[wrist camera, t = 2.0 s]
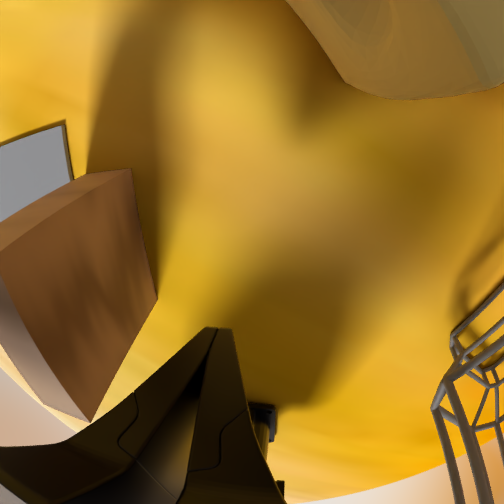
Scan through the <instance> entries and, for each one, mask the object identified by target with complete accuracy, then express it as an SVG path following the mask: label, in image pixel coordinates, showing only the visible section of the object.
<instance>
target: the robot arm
mask: <svg viewBox="0 0 504 504" xmlns="http://www.w3.org/2000/svg"><path fill="white" fill-rule="evenodd" d="M275 417H276V407H275V406H273V405H265V404H250V403H247V399H246V394H245V390H244V385H243V380H242V376H241V371H240V366H239V361H238V356H237V352H236V347H235V342H234V337H233V332H232V329H231V328H219V329H218V328H217V327H208V326H207V327H204V328H203V329H202V330H201V331H200V332H199V333H198V334H197V335H196V336H194V337H193V338H192V339H191V340H190V341H189V342H188V343H187V344H186V345H185V346H183V347H182V348H181V349H180V350H179V351H178V352H177V353H176V354H175V355H174V356H172V357H171V358H170V359H169V360H168V361H167V362H166V363H165V364H164V365H162V366H161V367H160V368H159V369H158V370H157V371H156V372H155V373H154V374H152V375H151V376H150V377H149V378H148V379H147V380H146V381H145V382H143V383H142V384H141V385H140V386H139V387H138V388H137V389H136V390H134V392H132V393H131V394H130V395H129V396H127V397H126V398H125V399H124V400H123V401H122V402H120V403H119V404H118V405H117V406H116V407H114V408H113V409H112V410H110V411H109V412H108V413H106V414H105V415H104V416H102V417H101V418H99V419H98V420H96V421H95V422H93V423H92V424H90V425H89V426H87V427H86V428H84V429H83V430H81V431H80V432H78V433H77V434H75V435H74V436H72V437H71V438H69V439H67V440H65V441H62V442H59V443H56V444H48V445H35V446H13V447H1V446H0V504H287V503H286V501H285V500H284V481H281V480H277V481H275V480H274V478H273V476H272V473H271V471H270V469H269V467H268V464H267V462H266V460H267V451H268V442H274V437H275Z"/></svg>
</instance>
